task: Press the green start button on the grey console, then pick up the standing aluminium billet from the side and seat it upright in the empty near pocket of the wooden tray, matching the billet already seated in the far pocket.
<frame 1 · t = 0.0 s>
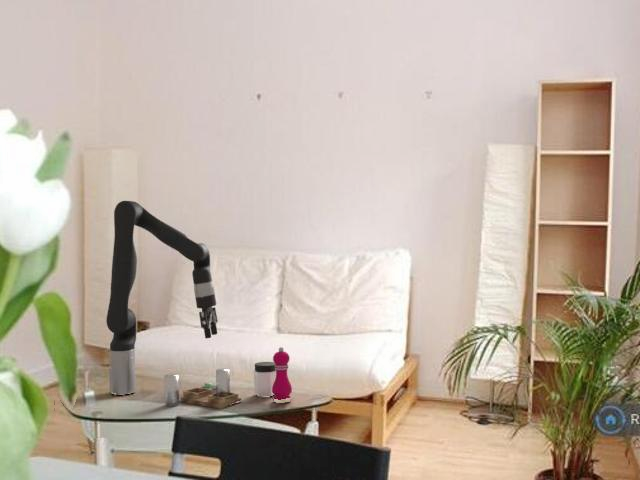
hand: (211, 336, 275), 22 cm above the table, tool pointing down, fingers open, 8 cm apart
jar: (265, 395, 272), on the table
seated billet: (223, 400, 259), resting on wooden tray
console: (208, 394, 276), on the table
billet: (172, 405, 259), on the table
button: (208, 387, 275), point 3 cm above the table, slide at 0.0 cm
wooden tray: (210, 401, 263), on the table
pepper mill: (282, 402, 261), on the table
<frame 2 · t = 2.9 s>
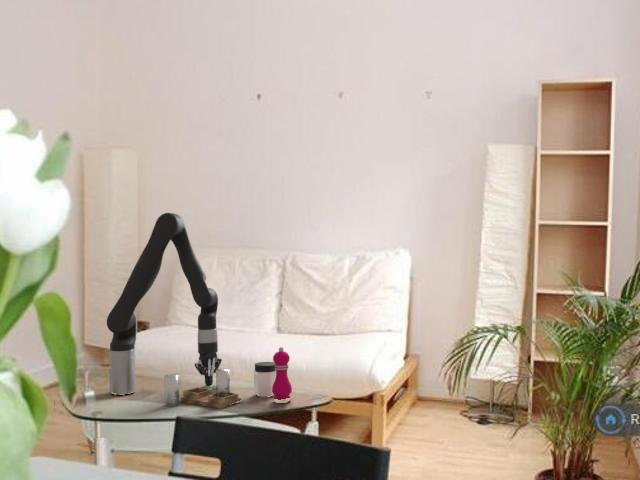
hand: (208, 385, 275), 3 cm above the table, tool pointing down, fingers closed
button: (208, 389, 275), point 2 cm above the table, slide at 0.8 cm, touching gripper
everything else where it was.
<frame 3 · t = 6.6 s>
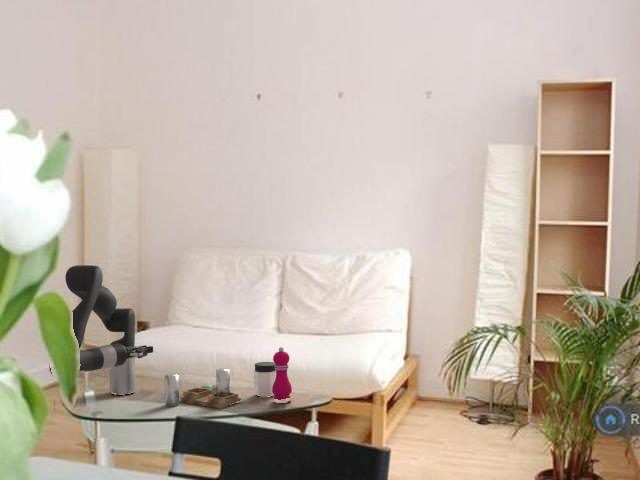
hand: (149, 348, 251), 22 cm above the table, tool horizontal, fingers closed
button: (208, 389, 275), point 2 cm above the table, slide at 1.0 cm
everything else where it was.
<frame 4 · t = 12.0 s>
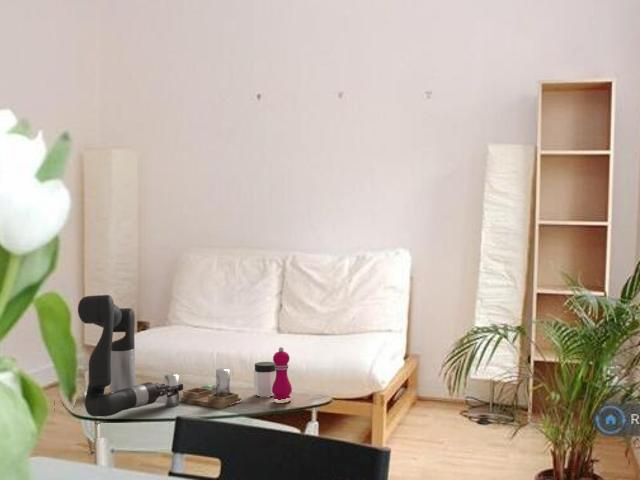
hand: (177, 385, 261), 7 cm above the table, tool horizontal, fingers closed on billet, 5 cm apart
billet: (172, 405, 259), on the table, touching gripper
everything else where it was.
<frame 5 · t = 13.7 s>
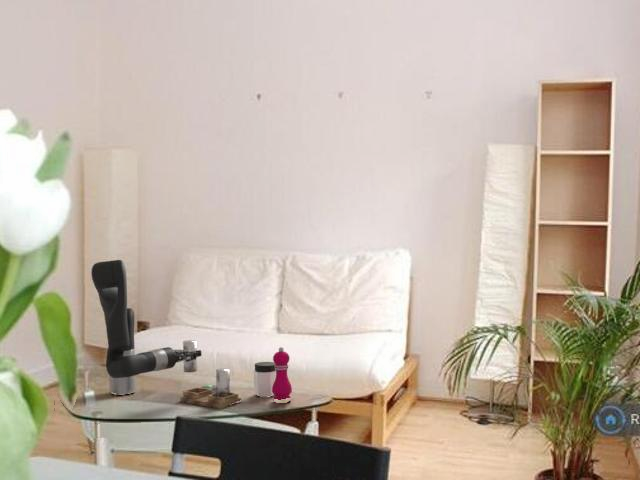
hand: (195, 352, 266), 18 cm above the table, tool horizontal, fingers closed on billet, 5 cm apart
billet: (190, 371, 264), point 11 cm above the table, touching gripper
everything else where it was.
when the fingers open (9 cm above the table, at t = 16.0 s): billet drops 1 cm, resting on wooden tray.
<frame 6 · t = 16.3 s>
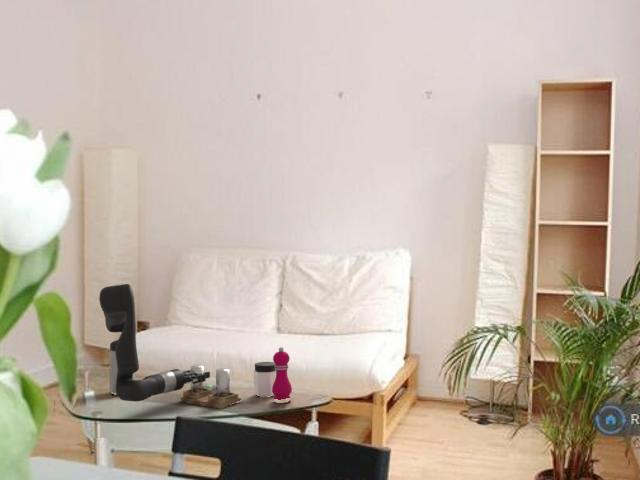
hand: (201, 373, 268), 10 cm above the table, tool horizontal, fingers open, 8 cm apart
billet: (197, 395, 267), point 2 cm above the table, touching wooden tray
everything else where it was.
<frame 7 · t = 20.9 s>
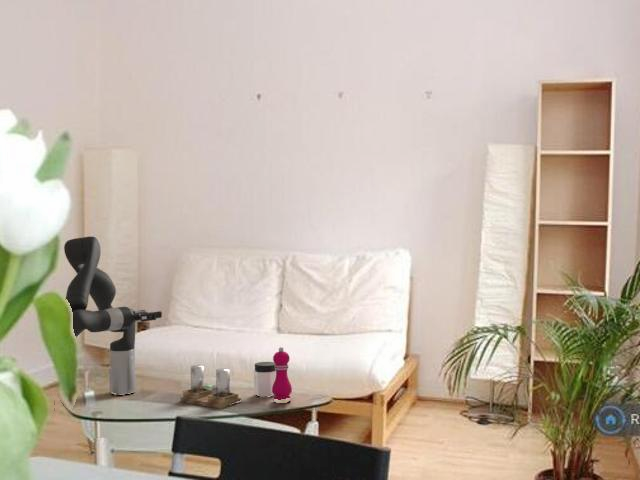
hand: (152, 313, 253), 34 cm above the table, tool horizontal, fingers open, 8 cm apart
nothing on the table moved.
at the end: billet 0.1 cm from the target spot on the wooden tray, point 1.5 cm above the wooden tray's base; billet tilted 1°; button slide at 1.0 cm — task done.
